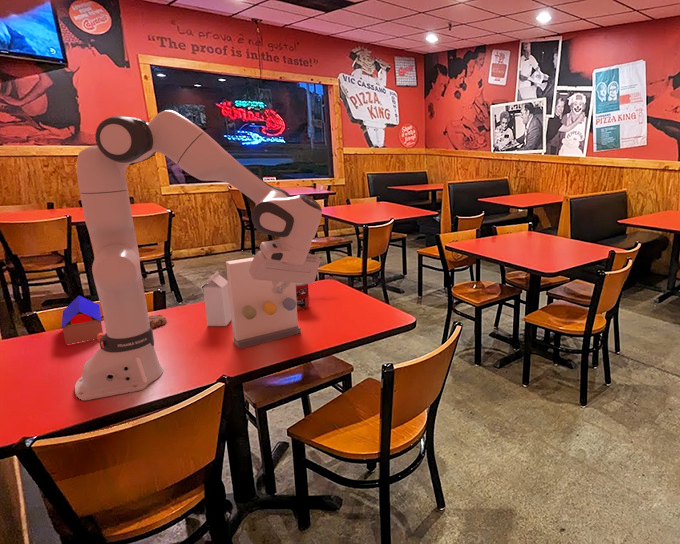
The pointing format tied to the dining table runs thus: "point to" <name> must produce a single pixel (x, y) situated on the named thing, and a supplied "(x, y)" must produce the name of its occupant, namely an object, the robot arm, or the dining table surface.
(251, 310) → the olive button
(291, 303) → the slate button
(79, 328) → the house
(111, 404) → the dining table surface
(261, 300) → the button panel
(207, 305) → the milk carton
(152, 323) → the cookie
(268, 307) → the amber button
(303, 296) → the canned food
